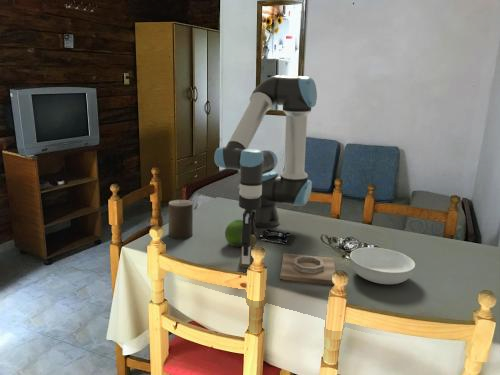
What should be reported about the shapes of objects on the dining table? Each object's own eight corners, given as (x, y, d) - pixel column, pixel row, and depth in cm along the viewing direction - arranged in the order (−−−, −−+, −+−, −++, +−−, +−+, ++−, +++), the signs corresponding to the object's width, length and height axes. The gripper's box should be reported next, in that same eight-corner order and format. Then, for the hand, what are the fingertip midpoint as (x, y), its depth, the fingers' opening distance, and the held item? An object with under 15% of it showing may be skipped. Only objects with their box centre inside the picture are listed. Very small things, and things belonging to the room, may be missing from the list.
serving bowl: (426, 288, 134) (429, 269, 133) (369, 296, 128) (371, 275, 127) (388, 261, 154) (390, 244, 152) (337, 267, 148) (338, 248, 146)
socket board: (283, 257, 154) (284, 249, 153) (333, 261, 152) (333, 253, 151) (279, 279, 137) (280, 270, 136) (335, 285, 134) (336, 276, 134)
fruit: (234, 235, 173) (235, 212, 171) (257, 239, 170) (258, 215, 168) (220, 248, 160) (220, 223, 157) (244, 253, 156) (245, 227, 154)
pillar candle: (185, 240, 166) (186, 204, 162) (164, 236, 169) (163, 201, 165) (196, 232, 175) (197, 198, 171) (175, 229, 178) (175, 195, 174)
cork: (254, 269, 143) (255, 239, 141) (237, 267, 145) (238, 237, 142) (257, 261, 149) (258, 232, 146) (241, 259, 150) (242, 231, 148)
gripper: (244, 187, 152) (242, 245, 157) (233, 203, 131) (231, 270, 136) (264, 188, 151) (262, 246, 156) (257, 205, 130) (254, 272, 135)
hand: (247, 257), depth 146 cm, fingers open, 9 cm apart
